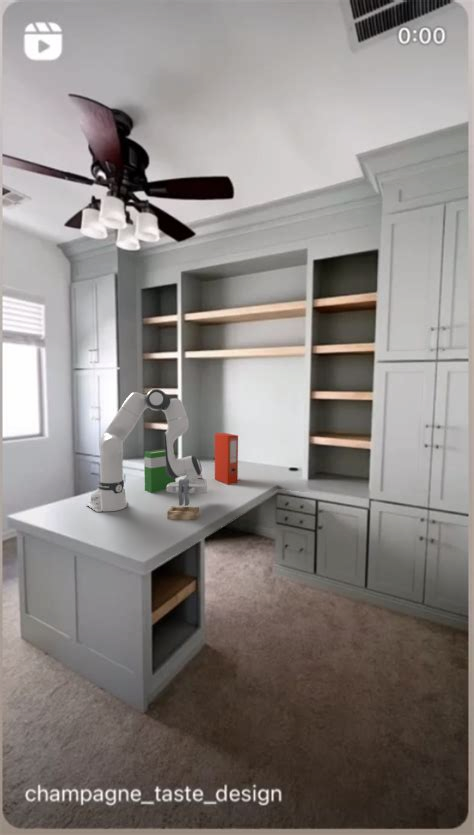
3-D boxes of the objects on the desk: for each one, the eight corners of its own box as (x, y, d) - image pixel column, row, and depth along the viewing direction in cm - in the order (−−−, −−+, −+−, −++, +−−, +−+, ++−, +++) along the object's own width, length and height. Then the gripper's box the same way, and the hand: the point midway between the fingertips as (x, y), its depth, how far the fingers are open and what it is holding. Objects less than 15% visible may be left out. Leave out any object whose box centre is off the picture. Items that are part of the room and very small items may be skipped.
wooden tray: (167, 518, 178) (167, 511, 178) (172, 513, 186) (171, 506, 186) (196, 519, 177) (196, 512, 176) (199, 514, 185) (199, 507, 184)
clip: (179, 505, 179) (178, 481, 178) (181, 503, 183) (180, 479, 182) (187, 505, 179) (187, 481, 178) (189, 503, 183) (188, 479, 182)
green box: (168, 485, 240) (168, 448, 238) (175, 487, 235) (175, 450, 233) (144, 490, 228) (144, 451, 226) (151, 492, 223) (150, 453, 221)
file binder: (224, 477, 261) (224, 432, 259) (237, 483, 246) (238, 435, 244) (214, 479, 257) (214, 433, 254) (227, 484, 242) (227, 436, 240)
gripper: (170, 478, 194) (162, 485, 180) (208, 478, 192) (203, 485, 178) (170, 490, 195) (162, 497, 181) (209, 490, 193) (204, 498, 179)
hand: (183, 491), depth 180 cm, fingers closed on clip, 4 cm apart
